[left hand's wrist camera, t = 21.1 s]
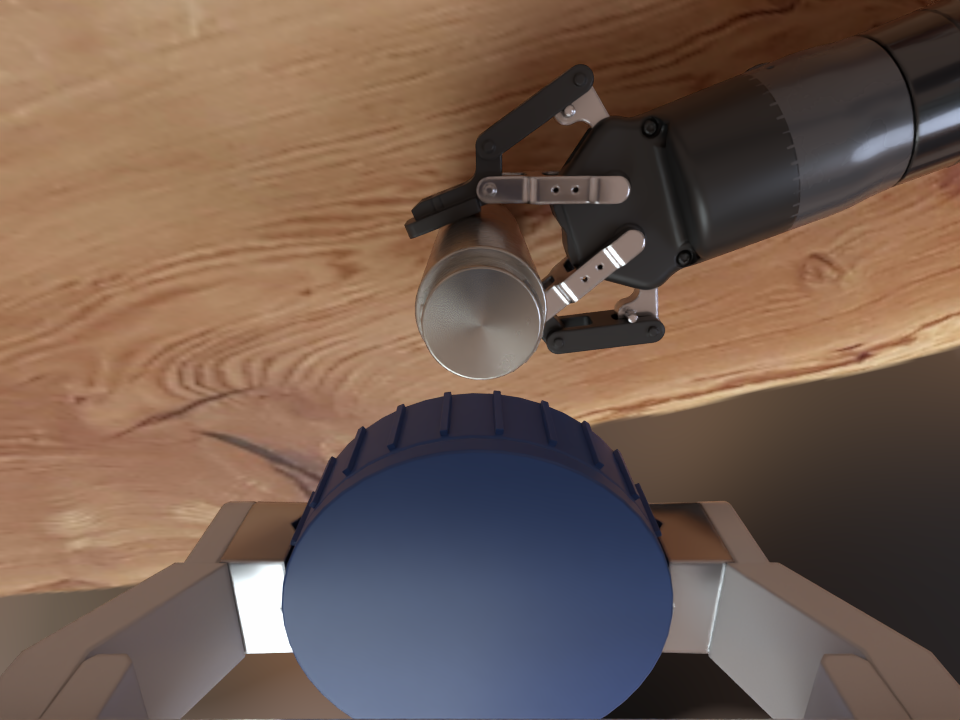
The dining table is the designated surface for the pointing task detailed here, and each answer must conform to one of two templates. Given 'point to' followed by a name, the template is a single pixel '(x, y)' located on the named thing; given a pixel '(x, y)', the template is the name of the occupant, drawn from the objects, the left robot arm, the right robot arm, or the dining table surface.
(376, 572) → the lid
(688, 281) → the dining table surface
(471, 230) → the jar
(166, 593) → the left robot arm
